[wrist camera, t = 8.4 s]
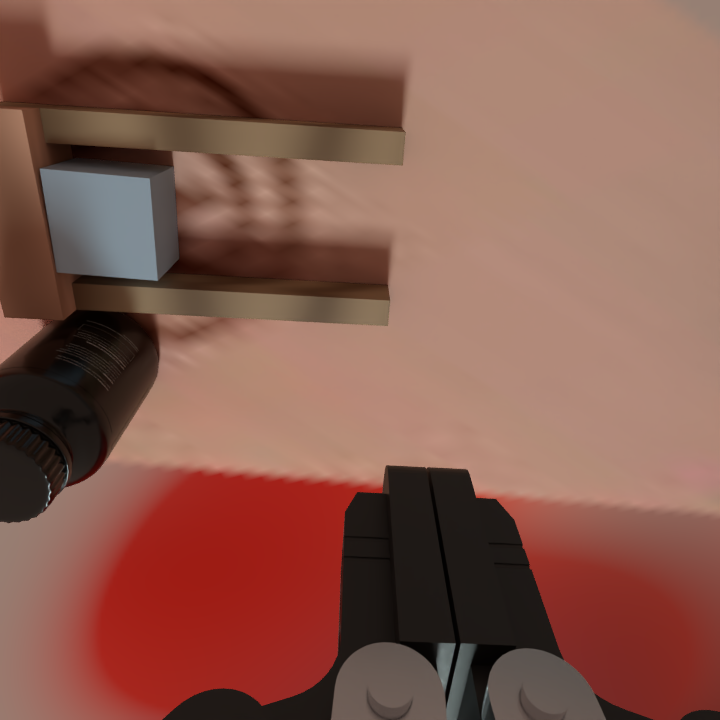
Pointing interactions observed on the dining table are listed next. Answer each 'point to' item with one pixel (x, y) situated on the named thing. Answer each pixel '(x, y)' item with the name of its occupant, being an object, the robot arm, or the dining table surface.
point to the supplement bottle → (68, 405)
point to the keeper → (111, 218)
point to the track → (172, 291)
